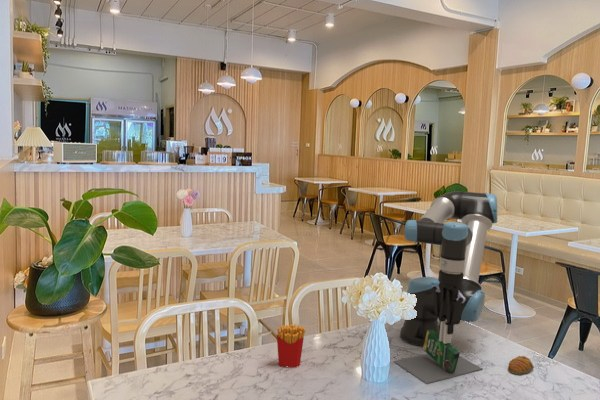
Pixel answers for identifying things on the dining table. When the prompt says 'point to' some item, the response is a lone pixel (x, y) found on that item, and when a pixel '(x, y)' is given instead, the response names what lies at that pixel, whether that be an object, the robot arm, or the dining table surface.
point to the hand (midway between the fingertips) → (444, 341)
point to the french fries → (290, 345)
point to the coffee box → (441, 351)
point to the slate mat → (434, 368)
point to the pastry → (520, 365)
